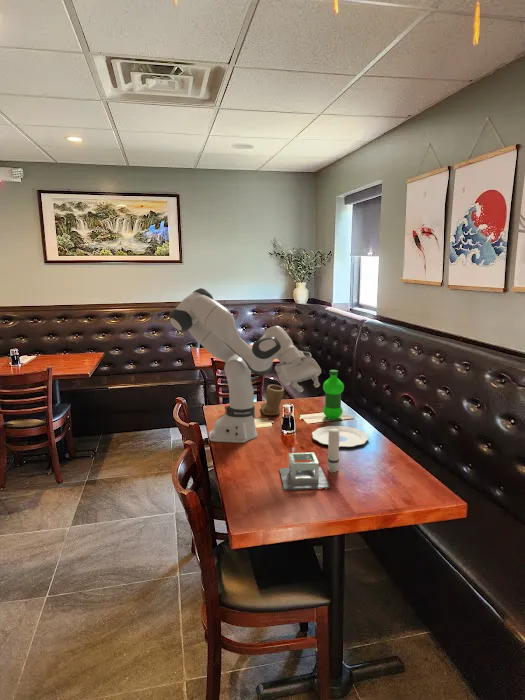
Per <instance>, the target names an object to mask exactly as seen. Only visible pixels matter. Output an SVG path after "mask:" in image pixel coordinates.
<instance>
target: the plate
mask: <svg viewBox="0 0 525 700" xmlns="http://www.w3.org/2000/svg"><path fill="white" fill-rule="evenodd" d="M329 429H338V430H339V437H342V438H346V440H344V441H339V448H354V447H358V446H362V445H364V444H366V442H368V441H369V439H370V438H369V436H368V434H367V433H366V432H365V431H362V430H360V429H359V428H356V427H349V426H345V425H327V426H324V427H323V426H322V427H318V428H316V429H315V430H314V431H312V432H311V435H312V439H313V440H314V441H316V442H318V443H319V444H321V445H325V446H328V438H329Z"/></svg>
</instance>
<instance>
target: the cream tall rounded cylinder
mask: <svg viewBox="0 0 525 700" xmlns="http://www.w3.org/2000/svg"><path fill="white" fill-rule="evenodd" d="M339 442H340V436H339V430H338V429H329V438H328V445H327V446H328V447H327V449H328V450H327V471H328V470H329V471H331V472H330V473H333V472H335V473H337V472H336V471H338V472H339V466H340V465H339V463H340V447H339ZM329 471H328V472H329Z"/></svg>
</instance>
